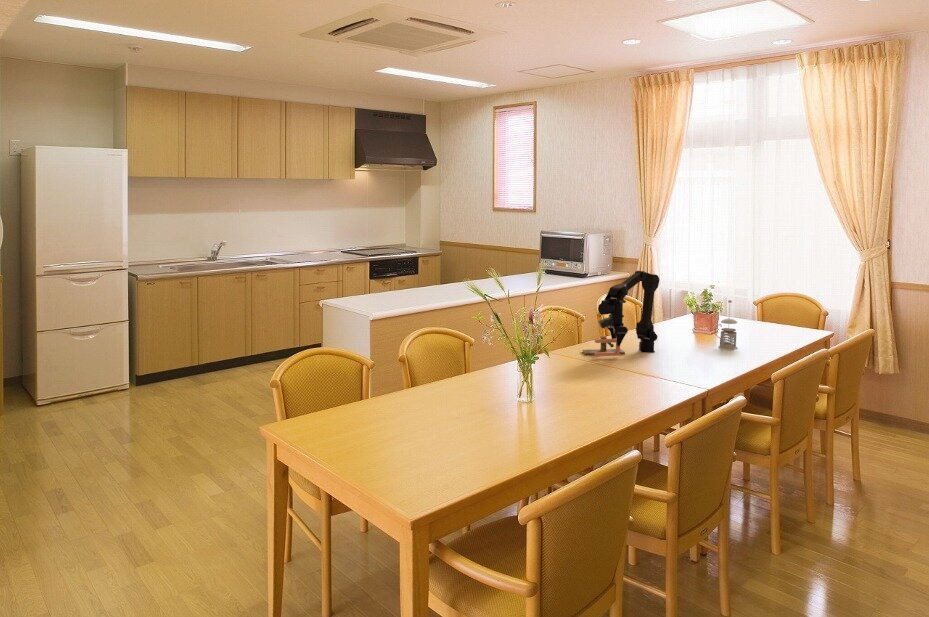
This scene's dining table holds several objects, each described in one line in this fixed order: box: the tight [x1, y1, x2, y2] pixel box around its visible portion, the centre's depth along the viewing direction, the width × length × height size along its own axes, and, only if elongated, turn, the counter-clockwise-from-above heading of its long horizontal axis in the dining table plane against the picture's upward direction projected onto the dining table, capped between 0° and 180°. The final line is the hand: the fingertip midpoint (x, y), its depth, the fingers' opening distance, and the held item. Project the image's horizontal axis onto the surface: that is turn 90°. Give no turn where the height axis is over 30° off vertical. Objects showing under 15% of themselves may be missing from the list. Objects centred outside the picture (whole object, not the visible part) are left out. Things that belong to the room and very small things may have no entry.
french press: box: [714, 299, 738, 351], centre depth 364 cm, size 10×12×25 cm
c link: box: [593, 338, 621, 357], centre depth 345 cm, size 12×2×8 cm, turn 93°
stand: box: [581, 336, 626, 356], centre depth 349 cm, size 20×21×8 cm
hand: (616, 343), depth 345 cm, fingers open, 9 cm apart
